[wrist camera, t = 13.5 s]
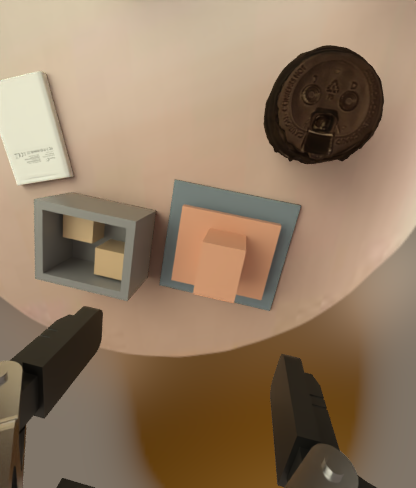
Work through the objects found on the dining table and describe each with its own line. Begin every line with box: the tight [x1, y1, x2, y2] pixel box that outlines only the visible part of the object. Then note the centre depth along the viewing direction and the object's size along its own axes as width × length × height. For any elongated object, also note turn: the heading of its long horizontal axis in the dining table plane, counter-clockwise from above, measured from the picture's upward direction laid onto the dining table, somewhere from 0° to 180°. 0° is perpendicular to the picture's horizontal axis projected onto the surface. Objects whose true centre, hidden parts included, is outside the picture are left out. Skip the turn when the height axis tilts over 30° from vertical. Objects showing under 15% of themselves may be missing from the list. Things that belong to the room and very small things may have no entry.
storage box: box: [34, 192, 156, 301], centre depth 35 cm, size 10×12×7 cm
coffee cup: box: [264, 45, 384, 164], centre depth 25 cm, size 9×8×13 cm
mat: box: [160, 180, 301, 311], centre depth 37 cm, size 15×16×1 cm
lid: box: [171, 204, 281, 303], centre depth 32 cm, size 10×12×8 cm
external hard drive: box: [0, 71, 74, 185], centre depth 35 cm, size 2×8×12 cm
